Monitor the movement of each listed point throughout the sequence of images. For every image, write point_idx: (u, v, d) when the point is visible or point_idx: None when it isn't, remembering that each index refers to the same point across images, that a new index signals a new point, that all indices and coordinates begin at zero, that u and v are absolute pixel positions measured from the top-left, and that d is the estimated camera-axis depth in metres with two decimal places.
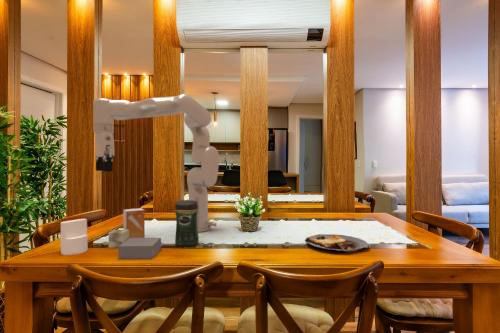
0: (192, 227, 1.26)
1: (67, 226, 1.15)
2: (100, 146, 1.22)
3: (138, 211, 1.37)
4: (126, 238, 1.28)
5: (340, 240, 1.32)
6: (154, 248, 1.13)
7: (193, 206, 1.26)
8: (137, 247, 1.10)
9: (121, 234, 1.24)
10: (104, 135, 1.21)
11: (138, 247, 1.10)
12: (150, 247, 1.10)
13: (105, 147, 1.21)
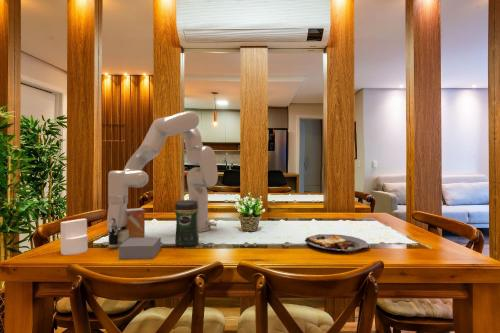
0: (192, 227, 1.26)
1: (67, 226, 1.15)
2: (126, 216, 1.30)
3: (138, 211, 1.37)
4: (126, 238, 1.28)
5: (340, 240, 1.32)
6: (154, 248, 1.13)
7: (193, 206, 1.26)
8: (138, 247, 1.10)
9: (121, 234, 1.24)
10: None
11: (139, 247, 1.10)
12: (151, 247, 1.10)
13: None
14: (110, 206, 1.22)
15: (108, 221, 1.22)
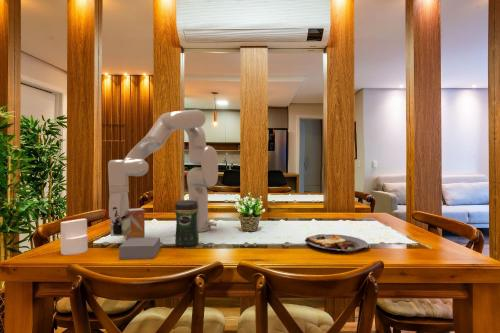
0: (192, 227, 1.26)
1: (67, 226, 1.15)
2: (128, 205, 1.31)
3: (138, 211, 1.37)
4: (128, 226, 1.28)
5: (340, 240, 1.32)
6: (155, 248, 1.13)
7: (193, 206, 1.26)
8: (138, 247, 1.10)
9: (123, 222, 1.25)
10: None
11: (139, 247, 1.10)
12: (151, 247, 1.10)
13: None
14: (111, 195, 1.23)
15: (110, 210, 1.22)
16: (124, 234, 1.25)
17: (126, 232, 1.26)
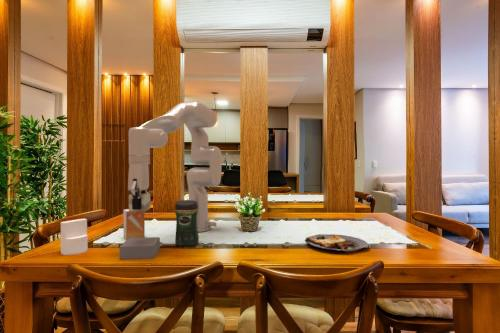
0: (192, 227, 1.26)
1: (67, 226, 1.15)
2: (148, 178, 1.19)
3: (138, 211, 1.37)
4: (148, 202, 1.16)
5: (340, 240, 1.32)
6: (155, 248, 1.13)
7: (193, 206, 1.26)
8: (139, 247, 1.10)
9: (143, 196, 1.13)
10: None
11: (140, 247, 1.10)
12: (152, 247, 1.10)
13: None
14: (131, 165, 1.11)
15: (129, 182, 1.10)
16: (144, 209, 1.13)
17: (146, 207, 1.14)
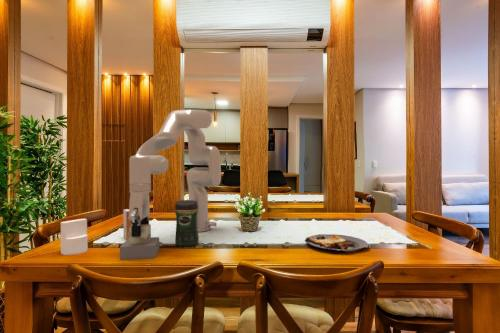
0: (192, 227, 1.26)
1: (67, 226, 1.15)
2: (149, 205, 1.19)
3: None
4: (148, 234, 1.16)
5: (340, 240, 1.32)
6: (156, 247, 1.14)
7: (193, 206, 1.26)
8: (139, 247, 1.10)
9: (143, 229, 1.12)
10: None
11: (140, 247, 1.10)
12: (153, 246, 1.11)
13: None
14: (132, 194, 1.11)
15: (130, 211, 1.10)
16: (144, 242, 1.13)
17: (146, 240, 1.14)
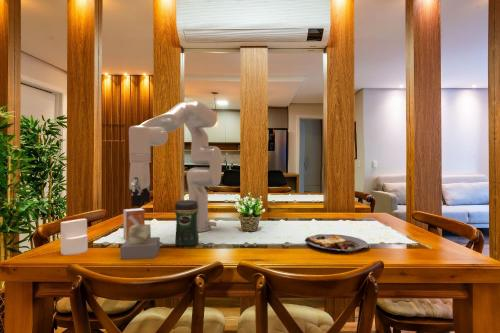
0: (192, 227, 1.26)
1: (67, 226, 1.15)
2: (149, 177, 1.19)
3: (138, 211, 1.37)
4: (148, 234, 1.16)
5: (340, 240, 1.32)
6: (156, 247, 1.14)
7: (193, 206, 1.26)
8: (140, 247, 1.10)
9: (143, 229, 1.13)
10: None
11: (141, 247, 1.10)
12: (153, 246, 1.11)
13: None
14: (132, 164, 1.11)
15: (130, 180, 1.10)
16: (144, 242, 1.13)
17: (146, 240, 1.14)
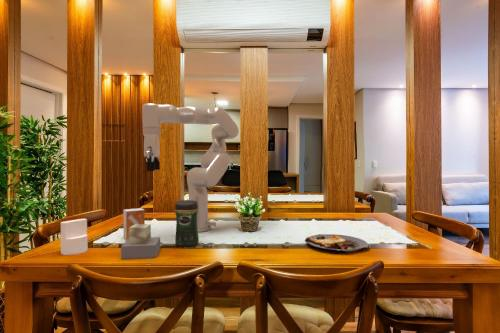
0: (192, 227, 1.26)
1: (67, 226, 1.15)
2: (159, 148, 1.39)
3: (138, 211, 1.37)
4: (148, 233, 1.16)
5: (340, 240, 1.32)
6: (157, 247, 1.14)
7: (193, 206, 1.26)
8: (140, 247, 1.10)
9: (143, 229, 1.13)
10: None
11: (141, 247, 1.10)
12: (154, 246, 1.11)
13: None
14: (146, 135, 1.31)
15: (145, 149, 1.31)
16: (144, 242, 1.13)
17: (146, 240, 1.14)
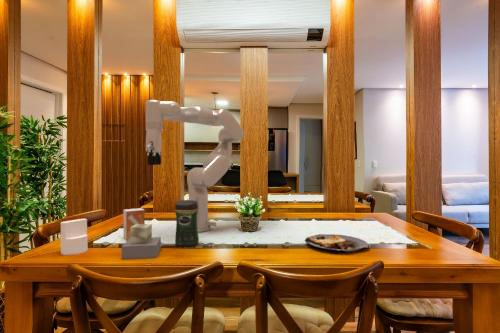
0: (192, 227, 1.26)
1: (67, 226, 1.15)
2: (161, 143, 1.44)
3: (138, 211, 1.37)
4: (149, 233, 1.16)
5: (340, 240, 1.32)
6: (157, 247, 1.14)
7: (193, 206, 1.26)
8: (141, 247, 1.10)
9: (144, 229, 1.13)
10: None
11: (142, 247, 1.10)
12: (154, 246, 1.11)
13: None
14: (148, 130, 1.36)
15: (146, 144, 1.36)
16: (145, 242, 1.13)
17: (147, 240, 1.14)
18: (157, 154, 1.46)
